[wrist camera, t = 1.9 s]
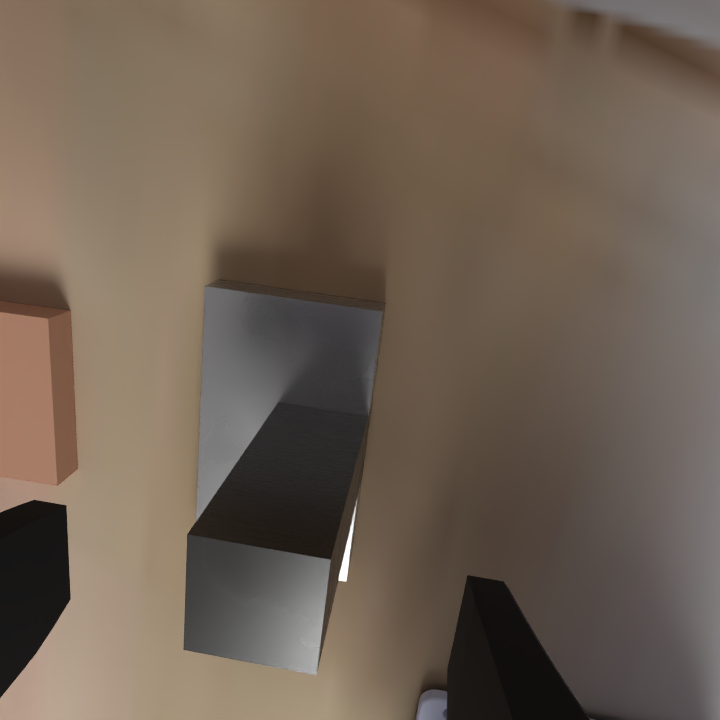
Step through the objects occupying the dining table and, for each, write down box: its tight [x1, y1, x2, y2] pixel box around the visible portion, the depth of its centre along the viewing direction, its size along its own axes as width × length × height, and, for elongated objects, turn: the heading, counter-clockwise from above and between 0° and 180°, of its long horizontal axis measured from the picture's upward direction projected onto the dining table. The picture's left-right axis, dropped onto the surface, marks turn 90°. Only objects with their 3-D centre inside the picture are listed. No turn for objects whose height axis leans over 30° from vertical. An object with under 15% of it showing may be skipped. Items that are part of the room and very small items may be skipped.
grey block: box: [184, 280, 386, 675], centre depth 13 cm, size 4×8×7 cm, turn 173°
